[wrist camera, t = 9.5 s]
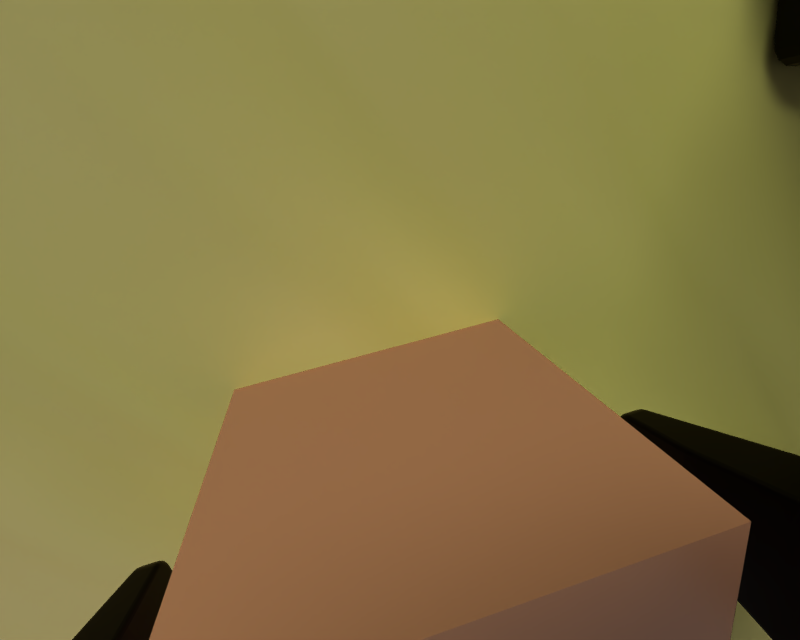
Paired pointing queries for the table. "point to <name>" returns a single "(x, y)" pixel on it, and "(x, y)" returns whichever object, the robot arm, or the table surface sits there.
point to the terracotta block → (448, 510)
